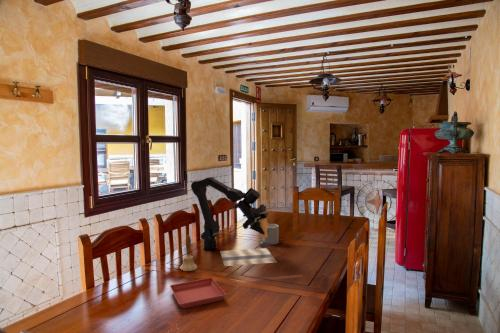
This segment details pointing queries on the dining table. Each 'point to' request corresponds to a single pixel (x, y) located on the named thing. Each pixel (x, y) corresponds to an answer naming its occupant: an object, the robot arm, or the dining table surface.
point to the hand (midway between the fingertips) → (266, 233)
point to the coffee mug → (272, 234)
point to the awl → (264, 226)
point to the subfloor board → (247, 257)
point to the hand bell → (188, 258)
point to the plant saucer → (197, 292)
